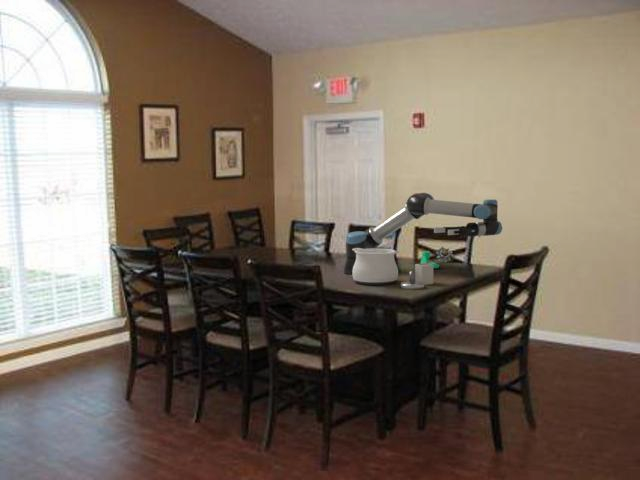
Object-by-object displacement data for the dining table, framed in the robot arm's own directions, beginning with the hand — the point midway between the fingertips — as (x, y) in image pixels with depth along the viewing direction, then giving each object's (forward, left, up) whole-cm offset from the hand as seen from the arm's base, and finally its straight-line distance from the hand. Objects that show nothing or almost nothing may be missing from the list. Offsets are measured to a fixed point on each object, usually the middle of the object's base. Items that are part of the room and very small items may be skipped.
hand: (441, 231), depth 380 cm
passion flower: (+18, +76, -27) cm, 82 cm away
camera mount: (+4, +51, -27) cm, 58 cm away
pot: (-34, +4, -27) cm, 44 cm away
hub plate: (-17, -14, -27) cm, 35 cm away
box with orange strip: (-9, -3, -27) cm, 29 cm away
